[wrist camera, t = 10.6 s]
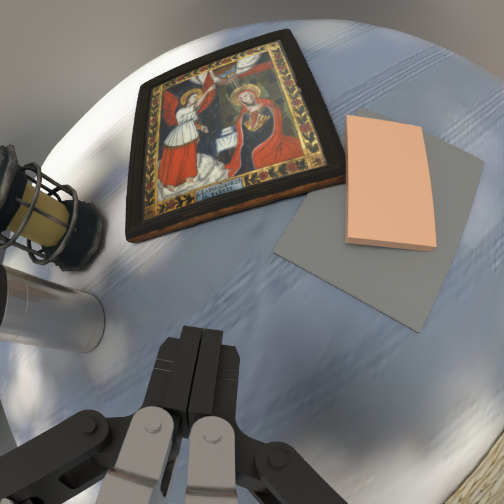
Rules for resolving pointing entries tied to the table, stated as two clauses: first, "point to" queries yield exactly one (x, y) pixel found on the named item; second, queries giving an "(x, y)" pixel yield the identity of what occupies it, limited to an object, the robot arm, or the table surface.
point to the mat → (385, 258)
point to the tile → (387, 185)
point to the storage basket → (484, 480)
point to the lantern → (45, 216)
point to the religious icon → (228, 137)
